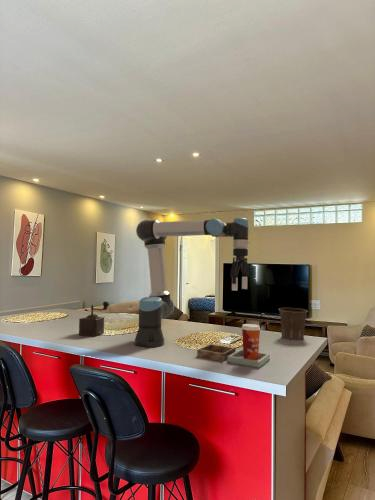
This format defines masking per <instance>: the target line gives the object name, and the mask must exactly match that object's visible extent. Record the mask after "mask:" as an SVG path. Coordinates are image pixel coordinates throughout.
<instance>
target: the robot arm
mask: <svg viewBox="0 0 375 500" xmlns="http://www.w3.org/2000/svg"><path fill="white" fill-rule="evenodd" d="M232 221H233V222H223V221H222V220H221V219H218V218H211V219H205V220H204V219H201V220H179V221H174V220H173V221H159V220H154V219H153V220H152V219H151V220H149V219H145V220H142V221H140V222H139V223H138V224H137V226H136V230H135V231H136V232H135V233H136V236H137V237H138V238H139V240H141V241H142V242H143V243H144V248H145V249H146V250H147V255H148V256H147V257H148V267H149V278H150V289H151V292H150V294H149V295H148V296H145V297H142V298H141V299H140V300H139V304H138V329H137V332H136V336H135V338H134V345H135V346H139V347H145V348H147V347H148V348H154V347H155V348H156V347H161V346H163V345H165V337H164V333H163V330H162V320H164V319H165V320H166V319H168V317H170V316H171V315H172V314H173V312H174V309H175V303H174V301H173V299H172V298H171V293H170V292H169V291H168V288H167V287H168V286H167V277H166V266H165V255H164V247H165V246H166V239H167V237H185V236H186V237H188V236H191V237H194V236H211V237H213V238H229V237H230V238H232V239H233V242H232V248H233V250H232V256H234V257H233V258H232V265H231V269H230V273H229V277H230V278H231V291H238V290H239V289H238V286H239V284H238V283H239V281H238V275H239V271H241V274H242V277H241V290H243V289H244V290H248V278H249V277H250V270H249V263H248V258H247V257H248V255H249V249H248V247H249V243H250V242H249V219H248V218H245V217H236V218H234V219H233V220H232Z"/></svg>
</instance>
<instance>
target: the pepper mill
mask: <svg viewBox="0 0 375 500" xmlns="http://www.w3.org/2000/svg"><path fill="white" fill-rule="evenodd" d="M102 306H103V307H102V308H94V305H93V304H91V305H90V309H91V310H90V311H91V313H90V314H88V315H87V316H85V317H82V318H79V320H78V322H79V323H78V336H81V337H92V338H95V337H98V336H102V335H103V334H105V317H103V316H99V315H98V314H95V313H94V311H101V312H103V311H106V310H108V308H109V306H110V302H109V301H103V303H102Z"/></svg>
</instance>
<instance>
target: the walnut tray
mask: <svg viewBox="0 0 375 500" xmlns="http://www.w3.org/2000/svg"><path fill="white" fill-rule="evenodd" d="M211 350H212V351H211ZM196 351H197V352H196V353H197V355H196V356H197V357H198V358H199V357H200V358H204V359H208V360H209V359H210V360H216V361H221V362H224V361H226V360H227V361H228V356H229V355H231V354H233V353H234V352H236V347H234V346H233V347H232V346H225V345H218V344H213V343H209V344H207V345H205V346H202V347H200V348H198V349H197V350H196ZM214 351H215V352H214Z"/></svg>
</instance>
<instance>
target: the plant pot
mask: <svg viewBox="0 0 375 500" xmlns="http://www.w3.org/2000/svg"><path fill="white" fill-rule="evenodd" d="M278 311H279V317H280V328H281V329H280V331H281V337H282V338H285V339H288V340H295V341H297V340H303V339H304V337H305V327H306V326H305V325H306V320H307V317H308V312H309V311H308V310H307V309H304V308H297V307H296V308H295V307H281V308H278Z"/></svg>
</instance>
